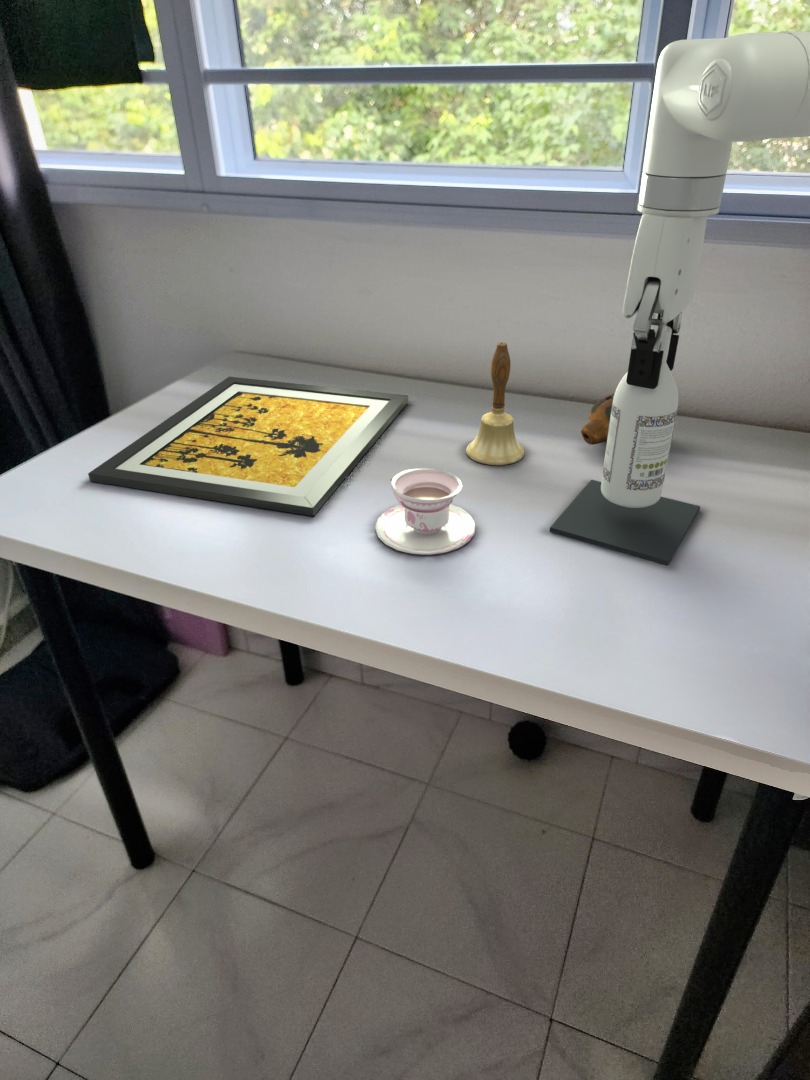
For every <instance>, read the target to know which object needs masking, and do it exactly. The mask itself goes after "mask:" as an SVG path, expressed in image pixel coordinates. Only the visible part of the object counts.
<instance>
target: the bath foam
mask: <svg viewBox="0 0 810 1080" xmlns="http://www.w3.org/2000/svg"><path fill="white" fill-rule="evenodd" d="M651 329H654V331H655V333H656V334H657V329H658V326H656V325H651ZM671 333H672V329H671V328H670V327H668V326H666V329H665V333H664V338H663V342H662V346H661V350H662V351H664V353H663V359H662V365H661V370H660V376H659V382H658V386H657V387H656V388H655V389H649V388H644V387H638V386H633V385H628V384H627V382H626V380H627V374H628V371H627V372H626V373H625V374H624V375H623V376H622V378H621V380H620V381H619V383H618V385H617V387H616V389H615V391H614V393H615V394H614V393H613V394H614V398H613V402H612V410H611V417H610V424H609V431H608V438H607V441H606V445H605V452H604V453H605V454H604V459H603V460H604V461H603V468H602V475H601V481H600V482H601V492H602V494H603V496H604V497H605V498H606V499H607V500H608V501H610V502H612V503H614V504H616V505H620V506H623V507H629V508H643V507H648V506H651V505H653V504H655V503H656V502H657V501H658V500H659V499H660V497H662V492H663V488H664V483H665V479H666V472H667V468H668V463H669V457H670V452H671V446H672V441H673V437H674V431H675V426H676V420H677V415H678V410H679V390H678V389H679V388H678V386H677V382H676V380H675V377H674V375H673V373H672V371H670V369H669V367H668V365H667V363H666V360H667V356H668V350H669V345H670V339H671ZM655 336H656V335H655Z"/></svg>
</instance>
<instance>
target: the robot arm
mask: <svg viewBox="0 0 810 1080" xmlns="http://www.w3.org/2000/svg"><path fill="white" fill-rule="evenodd" d="M652 92H653V94H652V100H651V107H650V115H649V122H648V129H647V137H646V143H645V151H644V158H643V164H642V173H641V179H640V186H639V193H638V199H637V208H636V210H637V212H640V213H642V215H641V217H640V221H639V225H638V229H637V233H636V237H635V241H634V245H633V250H632V255H631V260H630V265H629V271H628V275H627V281H626V287H625V292H624V297H623V298H624V299H623V305H622V310H621V313H622V315H623V318H625V319H630V318H633V316H635V315H636V316H635V319H634V321H633V325H632V331H633V334H632V336H633V337H632V341H631V346H630V347H631V348H630V353H629V361H628V362H629V363H628V368H627V372H628V374H627V380H626V382H627V384H628V385H633V386H638V387H644V388H649V389H655V388H656V387H657V386H658V382H659V376H660V370H661V365H662V359H663V353H664V351H662V350H661V346H662V342H663V338H664V333H665V329H666V326H668V327H670V328H671V329H672V333H671V339H670V345H669V350H668V356H667V360H666V363H667V365H668V367H669V369H670V371H671V372H672V371H673V369H674V367H675V362H676V355H677V351H678V345H679V340H680V334H679V333H680V331H681V326H682V316H683V311H684V310H685V309H686V308H687V307H688V306H689V305H690V303H691V301H692V299H693V297H694V294H695V289H696V285H697V281H698V276H699V270H700V264H701V260H702V254H703V248H704V243H705V234H706V230H707V222H708V221H707V220H708V217H710V216H714V215H718V214H719V213H720V207H721V204H722V198H723V193H724V188H725V183H726V178H727V174H728V173H727V172H728V168H729V163H730V157H731V152H732V148H733V147H732V146H733V143H740V142H753V141H763V140H764V141H765V140H769V139H787V138H789V139H790V138H806V137H810V30H809V31H803V30H802V31H801V30H800V31H799V30H798V31H797V30H796V31H793V30H791V31H787V30H786V31H783V30H782V31H777V32H776V31H775V32H774V31H772V32H771V31H770V32H763V31H761V32H760V31H759V32H746V33H739V34H735V35H729V36H727V37H723V38H719V37H718V38H717V37H716V38H715V37H714V38H689V39H679V40H674V41H672V42H670V43H668V44H667V45H666V46H665V47H664V48H663V49H662V51H661V52H660V55H659V57H658V59H657V64H656V72H655V79H654V86H653V91H652ZM651 325H656V326H658V329H657V334H656V333H655V331H654V329H651ZM655 335H656V336H655Z"/></svg>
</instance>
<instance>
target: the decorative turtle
mask: <svg viewBox="0 0 810 1080" xmlns="http://www.w3.org/2000/svg"><path fill="white" fill-rule="evenodd" d="M614 394H615V392H614V393H610V394H609V395H607V396H605V397H602V398H601V399H599V400H598V401H597V402H595V403H594V405H593V406H591V408H590V410H589V415H588V420H589V421H588V422H587V423H586V424H585V425H583V426H582V427H581V429H580V434H581V436H582V438H583V440H584V441H585V443H587V444H588V445H596V444H597V445H599V444H601V443H604V442H607V438H608V431H609V424H610V417H611V410H612V402H613V398H614Z"/></svg>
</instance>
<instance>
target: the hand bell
mask: <svg viewBox="0 0 810 1080" xmlns="http://www.w3.org/2000/svg"><path fill="white" fill-rule="evenodd" d="M510 356H511V355H510V352H509V349H508V344H507V342H497V344H496V347H495V351H494V352H493V355H492V358H491V363H490V379H491V382H492V386H493V394H492V402H491V406H492V407H491V411H490V412H486V413H484V414H483V415H482V416H481V419H480V425H479V428H478V432H477V435H476V436H475V438H474V439H473V440H471V441H470V443H468V445H467V447H466V449H465V453H466V455H467V457H469V458H470V459H471V460H472V461H474V462H477V463H480V464H483V465H489V466H505V465H512V464H514V463H515V464H516V463H518V462H519V461H521V460H522V459H523V458H524V456H525V449H524V448H523V446H522V444H521V443H520V442H518V440H517V438H516V434H515V427H514V417H512V415H511V414H509V413H506V412H505V401H506V399H505V398H506V395H505V394H506V387H507V384H508V382H509V378H510V373H511V365H512V364H511V357H510Z"/></svg>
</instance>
